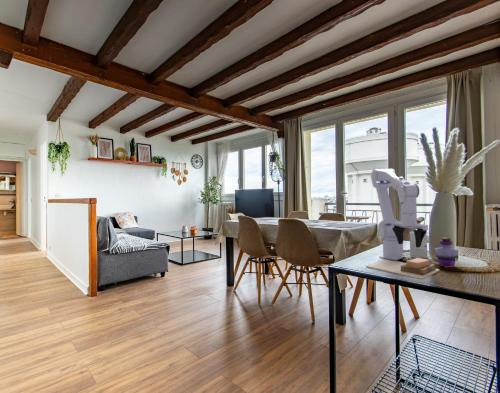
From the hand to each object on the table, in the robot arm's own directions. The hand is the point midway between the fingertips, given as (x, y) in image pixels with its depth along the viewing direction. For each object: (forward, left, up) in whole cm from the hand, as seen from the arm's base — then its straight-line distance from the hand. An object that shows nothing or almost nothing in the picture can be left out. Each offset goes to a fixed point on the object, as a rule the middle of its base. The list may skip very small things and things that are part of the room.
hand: (409, 245), depth 115 cm
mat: (+4, -1, -9) cm, 10 cm away
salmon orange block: (+4, +5, -8) cm, 10 cm away
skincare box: (-21, -5, -10) cm, 23 cm away
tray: (+3, +5, -9) cm, 11 cm away
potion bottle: (-13, +9, -10) cm, 18 cm away
